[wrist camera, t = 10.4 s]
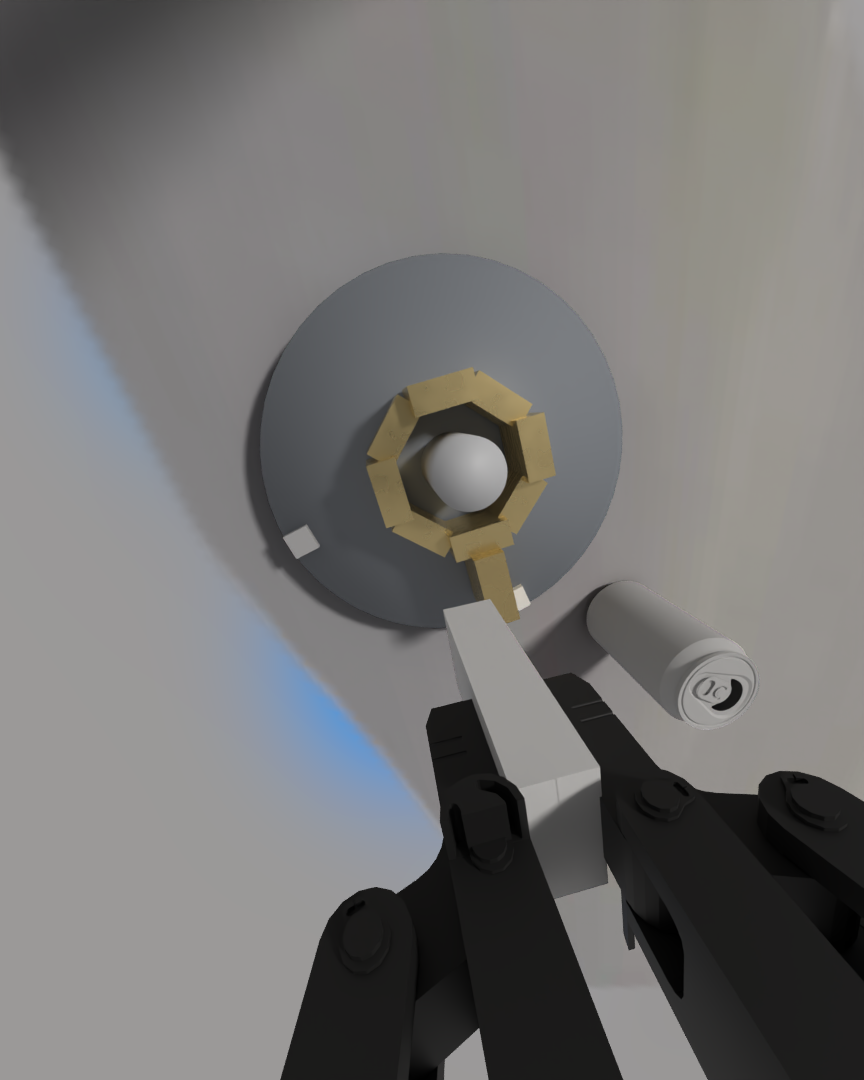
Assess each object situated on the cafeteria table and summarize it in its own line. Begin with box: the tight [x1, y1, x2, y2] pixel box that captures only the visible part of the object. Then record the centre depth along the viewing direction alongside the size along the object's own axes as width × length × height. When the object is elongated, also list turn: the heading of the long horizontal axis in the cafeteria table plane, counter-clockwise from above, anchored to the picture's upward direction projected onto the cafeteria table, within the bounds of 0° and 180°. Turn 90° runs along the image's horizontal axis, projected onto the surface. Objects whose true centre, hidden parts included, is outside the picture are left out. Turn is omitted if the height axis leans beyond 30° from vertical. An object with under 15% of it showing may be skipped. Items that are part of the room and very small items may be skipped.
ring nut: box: [366, 367, 556, 623], centre depth 28 cm, size 16×11×5 cm
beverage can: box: [586, 581, 760, 730], centre depth 32 cm, size 6×6×12 cm
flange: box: [260, 253, 622, 628], centre depth 28 cm, size 26×26×8 cm
